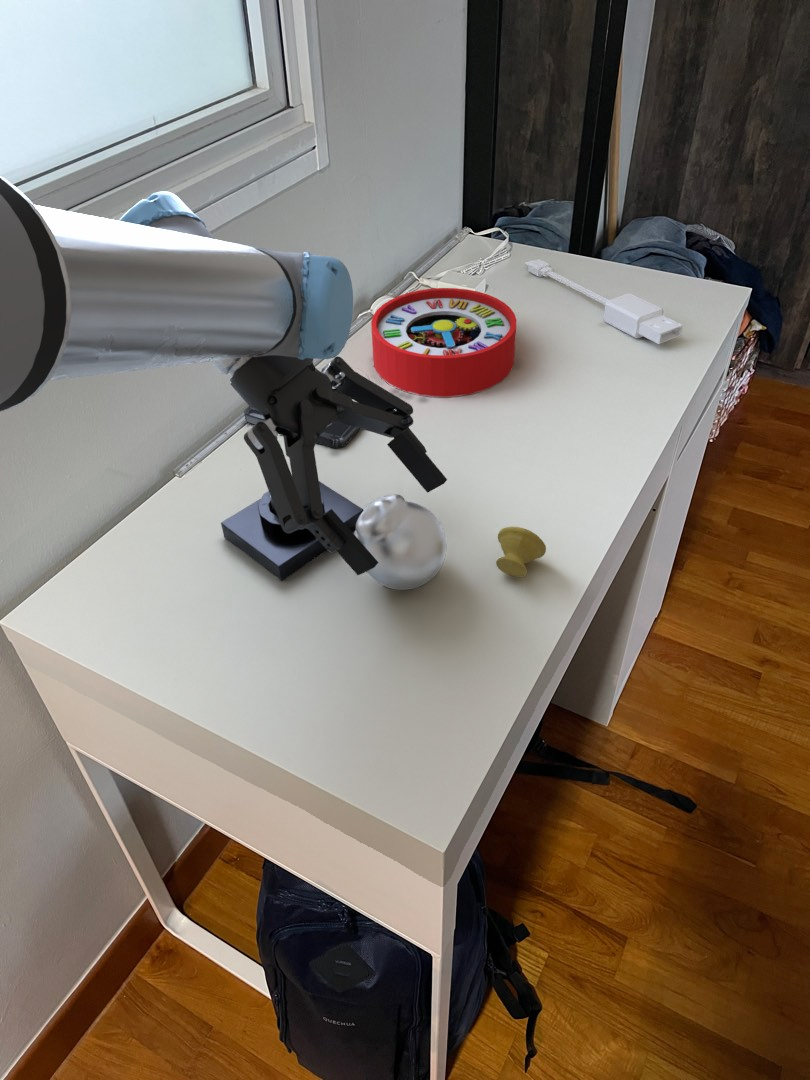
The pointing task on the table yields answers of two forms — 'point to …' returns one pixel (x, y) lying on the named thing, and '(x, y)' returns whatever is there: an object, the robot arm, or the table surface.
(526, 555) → the knob
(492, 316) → the toy clock
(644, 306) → the charging cable
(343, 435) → the phone
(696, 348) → the table surface
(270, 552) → the panel
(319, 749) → the table surface
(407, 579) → the ghost figurine
